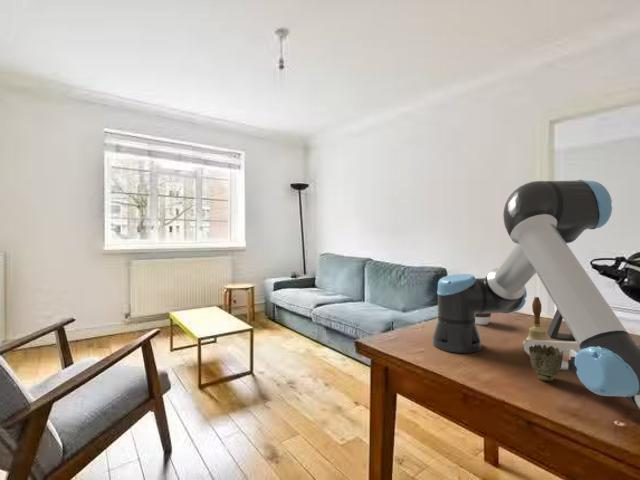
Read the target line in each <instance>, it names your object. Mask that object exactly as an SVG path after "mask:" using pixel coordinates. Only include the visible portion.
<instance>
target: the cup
mask: <svg viewBox="0 0 640 480" xmlns="http://www.w3.org/2000/svg"><path fill="white" fill-rule="evenodd" d="M546 347H547V346H545V345H544V346H543V348H542V346H541V345H536V344H535V346H534V347H532V345H531V347H529V353H530V355H529V358H530V360H529V361H530V364H531V367H532V369H533V371H535V372H536V373H537V374H536V375H537V378H538V379H539V380H541V381H543V382H553V381H554V379H555V376H556V375H559V373H560V371H561V364H562V358H563V351H562V352H559V349H558V348H556V349H555V348H554V347H553V346H550V347H547V348H546Z"/></svg>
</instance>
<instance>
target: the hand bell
mask: <svg viewBox="0 0 640 480" xmlns="http://www.w3.org/2000/svg"><path fill="white" fill-rule="evenodd" d="M531 306H532V312H533V316H534V320H533V326H532V327H529V331H528V335H527V338H525V340H545V341H549V340H548V337H547V331H546V330H545V329H544V328H543V327H541V318H540V317H541V313H542V310H543V309H542V302H541V300H540V297H539V296H534V298H533V301H532V305H531ZM522 344H523V345H524V341H523V342H522Z"/></svg>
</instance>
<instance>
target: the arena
mask: <svg viewBox="0 0 640 480" xmlns="http://www.w3.org/2000/svg"><path fill="white" fill-rule="evenodd" d="M523 342H524V344H523V347H524V349H523V350H524V352H525V353H526V354H527V355H528V356H530V353H529V347H531V345H532V347H534V346H535V344H536V345H541V346H542V348H543V346H544V345H545V346H547V347H550V346H553V347H554V348H555V349H556V348H558V349H559V352H562V351H563V358H562V364H561V369H560V371H561V370H565V371H568V360H570V350H574V351H575V352H576V353H578V352H579V351H580V350H581V349H580V347H579V345H578V343H577V341H571V340H566V341H565V340H548V341H545V340H526V339H524V340H523ZM547 347H546V348H547Z"/></svg>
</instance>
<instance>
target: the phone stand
mask: <svg viewBox="0 0 640 480" xmlns="http://www.w3.org/2000/svg"><path fill="white" fill-rule="evenodd" d="M563 320H564V319H563V317H562V316H561V314H560V312H559V311H558V309H557V308H556V311H555V313H554V316H553V318H552V320H551V322H550V324H549V326H548V329H547V331H546V334H547V335H548V336H549V338H550V339H556V340H563V341H565V340H566V341H574V342H577V341H576V340H575V338H574V336H573V335H572V333H571V331H570V329H569V328H568V330H569V333H561V332H559V330H560V328H561V325H562V321H563Z"/></svg>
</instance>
